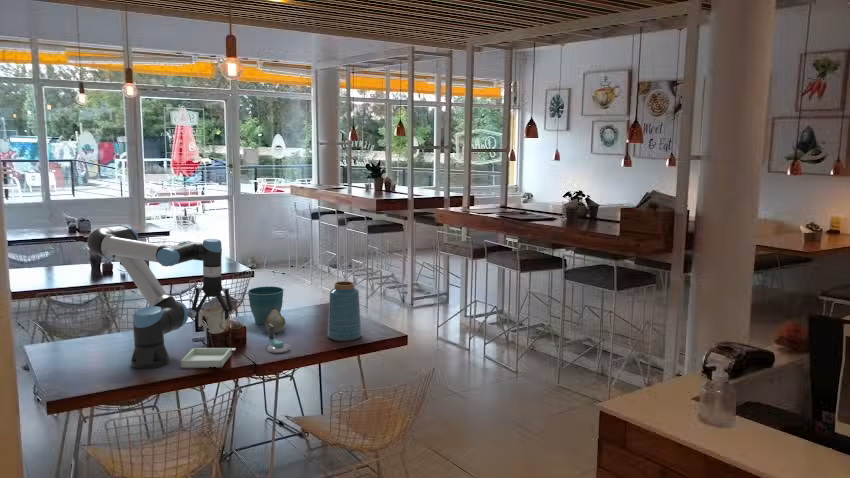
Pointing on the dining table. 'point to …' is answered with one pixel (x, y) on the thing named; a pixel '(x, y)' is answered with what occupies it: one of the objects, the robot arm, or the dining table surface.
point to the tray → (206, 357)
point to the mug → (214, 319)
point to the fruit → (275, 321)
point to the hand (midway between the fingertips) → (212, 326)
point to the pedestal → (278, 349)
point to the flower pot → (265, 301)
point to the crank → (271, 338)
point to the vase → (344, 312)
